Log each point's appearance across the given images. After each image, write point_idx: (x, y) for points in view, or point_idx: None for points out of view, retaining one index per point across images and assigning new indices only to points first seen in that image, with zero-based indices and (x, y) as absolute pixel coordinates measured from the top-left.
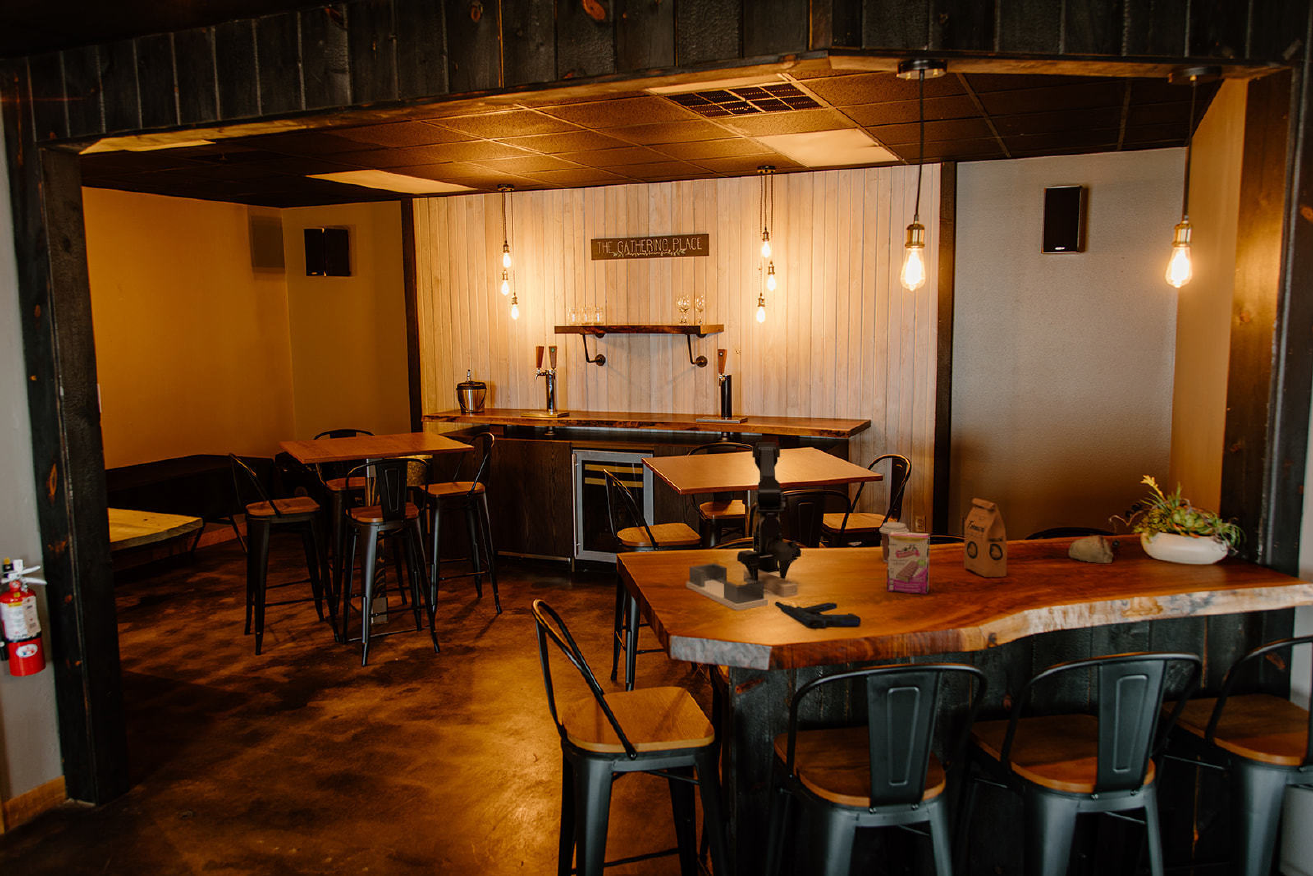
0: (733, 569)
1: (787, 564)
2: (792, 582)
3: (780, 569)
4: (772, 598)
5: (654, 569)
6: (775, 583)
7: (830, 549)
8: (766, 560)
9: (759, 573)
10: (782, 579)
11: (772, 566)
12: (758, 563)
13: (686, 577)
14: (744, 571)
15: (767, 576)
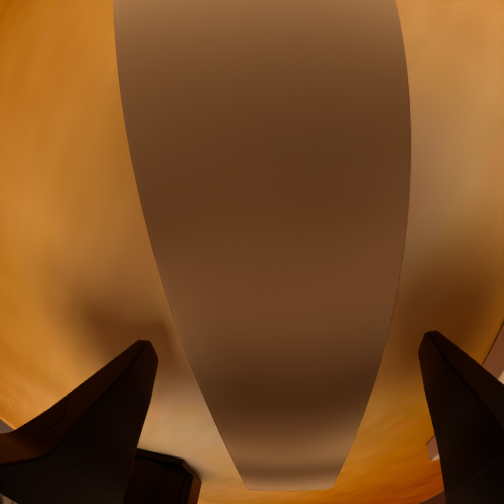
0: (264, 492)
1: (40, 447)
2: (120, 67)
3: (129, 441)
4: (453, 46)
5: (421, 493)
6: (409, 155)
7: (10, 424)
8: (157, 496)
9: (291, 462)
10: (187, 281)
11: (139, 467)
12: (190, 495)
13: (435, 469)
14: (333, 484)
15: (289, 417)
